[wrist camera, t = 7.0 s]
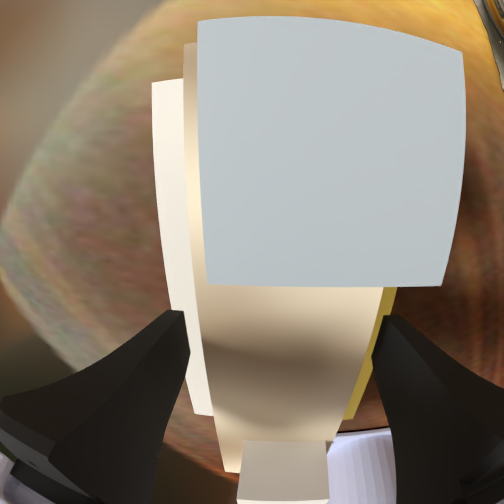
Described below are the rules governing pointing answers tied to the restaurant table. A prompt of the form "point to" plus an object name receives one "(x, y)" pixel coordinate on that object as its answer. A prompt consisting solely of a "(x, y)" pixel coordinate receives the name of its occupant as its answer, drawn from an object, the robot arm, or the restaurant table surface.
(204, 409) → the dock
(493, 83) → the restaurant table surface
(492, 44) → the condiment
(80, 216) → the restaurant table surface
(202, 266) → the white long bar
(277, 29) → the light grey square block
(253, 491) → the block
